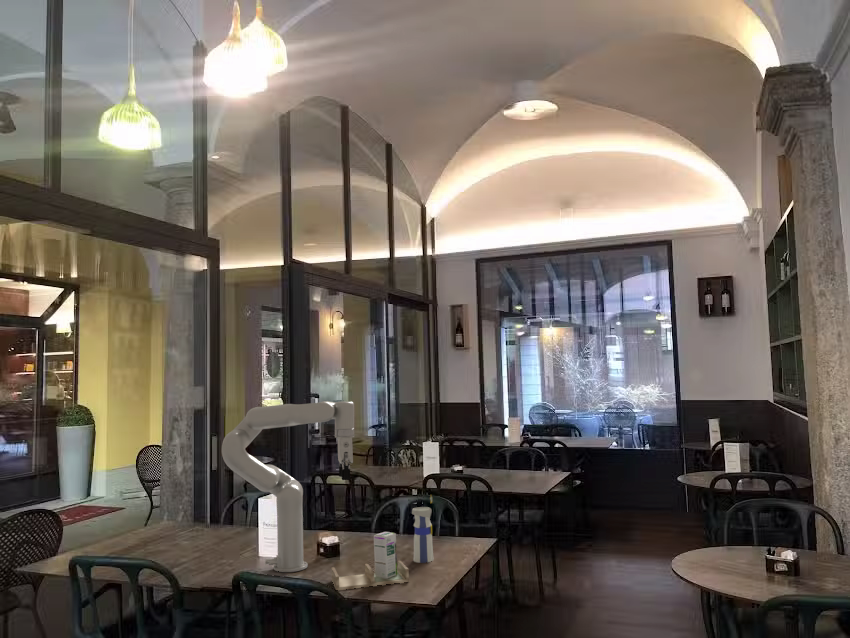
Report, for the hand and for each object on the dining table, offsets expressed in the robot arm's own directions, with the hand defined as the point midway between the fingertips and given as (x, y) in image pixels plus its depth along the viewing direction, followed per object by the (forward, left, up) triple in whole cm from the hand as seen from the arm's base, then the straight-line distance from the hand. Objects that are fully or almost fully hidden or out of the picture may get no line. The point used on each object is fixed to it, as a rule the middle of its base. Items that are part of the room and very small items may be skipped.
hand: (344, 478), depth 260 cm
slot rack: (+4, -26, -32) cm, 41 cm away
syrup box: (+10, -25, -31) cm, 41 cm away
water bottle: (+29, -6, -33) cm, 44 cm away
